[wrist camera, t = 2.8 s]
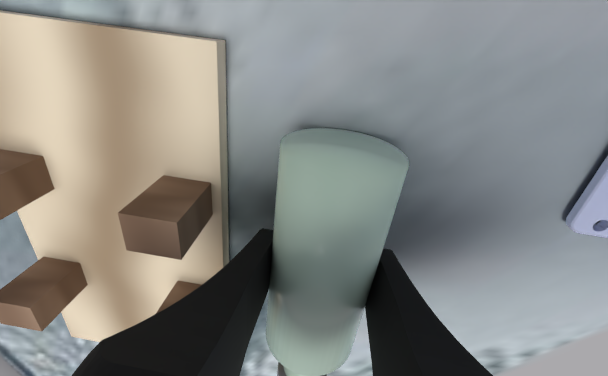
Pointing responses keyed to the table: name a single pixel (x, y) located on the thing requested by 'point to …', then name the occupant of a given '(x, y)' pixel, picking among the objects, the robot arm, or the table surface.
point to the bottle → (327, 243)
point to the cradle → (110, 169)
